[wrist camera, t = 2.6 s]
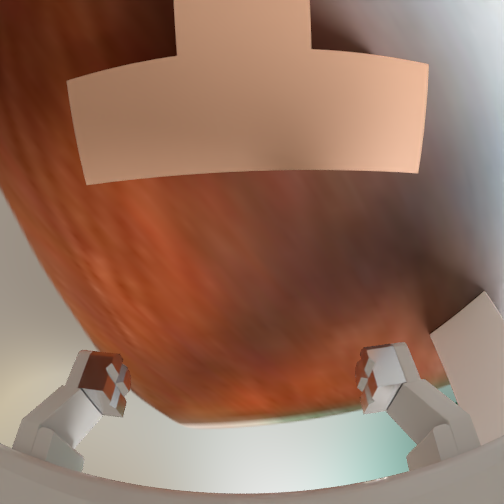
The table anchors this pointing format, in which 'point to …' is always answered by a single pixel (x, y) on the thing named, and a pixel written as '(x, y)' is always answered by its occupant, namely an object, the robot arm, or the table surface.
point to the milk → (476, 364)
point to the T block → (249, 101)
